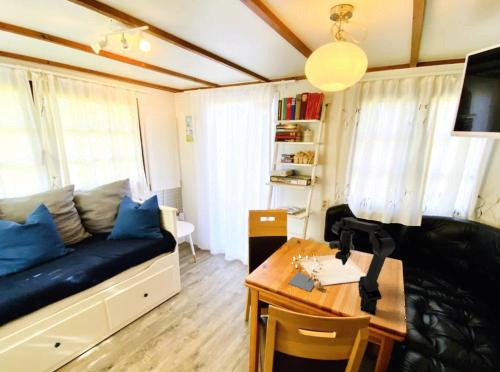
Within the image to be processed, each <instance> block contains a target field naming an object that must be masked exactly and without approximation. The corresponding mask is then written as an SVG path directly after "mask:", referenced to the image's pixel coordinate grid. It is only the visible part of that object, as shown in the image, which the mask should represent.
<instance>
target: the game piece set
mask: <svg viewBox="0 0 500 372" xmlns="http://www.w3.org/2000/svg"><path fill="white" fill-rule="evenodd" d="M299 258H300V259H302V256H301V254H299V255H298V259H299ZM305 258H306V259H310V258H309V255H306V256H305ZM292 259H293V260H292V262H291V264H292V265H295V269H297V268H298V266H299V264H298V263H297V264H295V261H296V257H295V256H293V258H292ZM293 261H294V262H293ZM313 261H315V262H317V258H316V257H315V256H313ZM317 265H318V267H317V269H318V270H320V269H322V267H320V266H322V264H321V260H320V259H318V262H317ZM302 270H303V272H306V270H305V269H303V268H302ZM315 270H316V268H315V267H311V271H312V272H315Z"/></svg>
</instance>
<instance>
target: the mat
mask: <svg viewBox="0 0 500 372" xmlns="http://www.w3.org/2000/svg"><path fill="white" fill-rule="evenodd" d="M310 276H311V275H308V274H305V273H302V272H299V271H297V272H296V273H295V275H293V277H292V278H291V279H290V280H289V281H288V282H287V284H288V285H291V286H292V287H296V288H299V289H302V290H304V291H306V292H307V293H308V292H309V293H310V292H311V291H312V290H313V288H315V286H314V283H315V282H316V279H315V280H314V281H315V282H314V281H313V280H312V278H310V279H309V280H308V278H309V277H310ZM317 281H319V278H317Z"/></svg>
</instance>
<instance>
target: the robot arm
mask: <svg viewBox="0 0 500 372" xmlns="http://www.w3.org/2000/svg"><path fill="white" fill-rule="evenodd" d="M354 230H359V231H362V232H367V233H368V235H369V241H370V244H372V247H371V248H372V251H373V255H372V258H371V260H370V264H369V266H368V268H367V272H366V275H363V276H360V277H359V281H357V282H358V285H357V286H358V287H357V288H358V294H359V298H360V303H359V306H360V311H362V312H364V313H367V314H370V315H372V316H376V314H377V313H376V312H377V308H378V307H377V305H378V301H380V300H382V299H383V296H382V294H381V291H380V289H379V287H380V285H379V282H378V279H379V276H380V274H381V271H382V268H383V266H384V263H385V261H386V260H387V259H386V258H387V257H388V256H390V255H391V254H392V253H393V252H394V250H395V249H396V243H395V241H394V239H393V238H392V236H391V235H390V234H389V233H388V232H387V231H385V230H384V229H383V228H382V227H381V226H380V225H379V224H377V223H372V222H371V223H370V222H365V221H359V220H358V219H357V218H354V217H353V216H351V217H341V218H340V220H339V221H335V222H334V223H333V224H332V225H331V231H332V233H334V234H336V235H337V236H338V237H340V240H334V241H333V240H332V241H330V242H329V244H328V245H329V246H328V248H329V249H330V250H338V251H337V252H335V255H334V258H335V259H336V260H340V261H341V264H342V266H345V265H346V264H347V262H348V260H349V259H350V257H351V255H352V252H351V251H354V250H355V245H354V244H353V235H356V232H355V231H354ZM375 234H377V235H378V236H380V237H376V235H375Z"/></svg>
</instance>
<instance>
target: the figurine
mask: <svg viewBox="0 0 500 372" xmlns="http://www.w3.org/2000/svg"><path fill="white" fill-rule="evenodd" d="M309 276H310V277H309V278H308V280H309V279H310V278H312V280H313V281H314V280H315V279H316V282H315V281H314V282H315V283H314V288H316V289H321V288H322V283H321V281H319V280H318V281H317V279H318V278H317V277H321V278H322V276H321V275H318V274H313V273H312V272H311V273H310V275H309Z"/></svg>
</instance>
